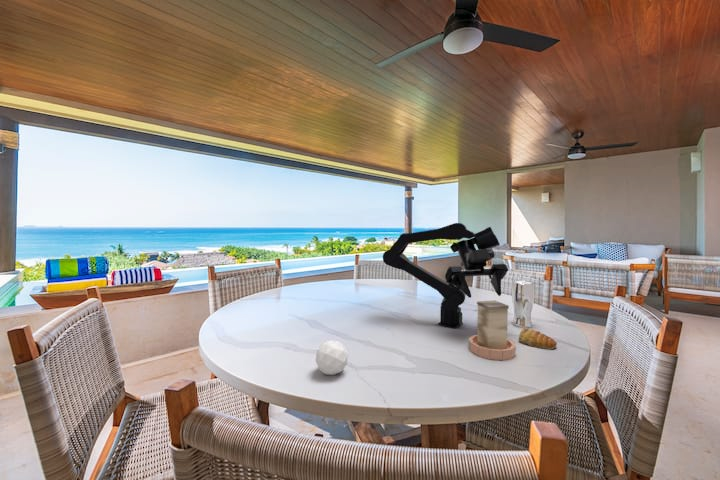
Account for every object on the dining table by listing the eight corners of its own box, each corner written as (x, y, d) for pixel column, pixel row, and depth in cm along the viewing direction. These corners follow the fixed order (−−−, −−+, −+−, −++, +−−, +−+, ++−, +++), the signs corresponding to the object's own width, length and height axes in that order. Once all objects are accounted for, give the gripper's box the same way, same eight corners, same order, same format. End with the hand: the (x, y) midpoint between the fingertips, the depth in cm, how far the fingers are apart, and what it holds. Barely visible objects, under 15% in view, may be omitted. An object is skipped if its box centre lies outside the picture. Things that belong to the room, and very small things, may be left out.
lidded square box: (476, 343, 88) (477, 301, 87) (494, 342, 89) (495, 300, 88) (488, 352, 82) (489, 307, 81) (507, 350, 83) (508, 305, 82)
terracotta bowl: (462, 351, 85) (462, 342, 85) (478, 339, 94) (478, 331, 94) (507, 364, 77) (507, 354, 77) (519, 349, 86) (520, 341, 86)
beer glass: (537, 328, 103) (539, 284, 102) (517, 328, 103) (518, 284, 102) (527, 321, 110) (528, 280, 109) (507, 321, 110) (508, 280, 109)
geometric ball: (323, 385, 73) (303, 357, 74) (344, 362, 79) (325, 337, 79) (338, 381, 68) (317, 351, 68) (360, 357, 74) (340, 330, 74)
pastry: (559, 346, 89) (560, 333, 88) (551, 353, 84) (552, 339, 84) (525, 337, 96) (525, 325, 95) (516, 343, 91) (516, 330, 91)
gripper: (447, 241, 96) (462, 282, 85) (504, 238, 97) (526, 279, 86) (439, 262, 104) (452, 303, 94) (492, 260, 105) (511, 299, 95)
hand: (485, 296), depth 92 cm, fingers open, 9 cm apart
